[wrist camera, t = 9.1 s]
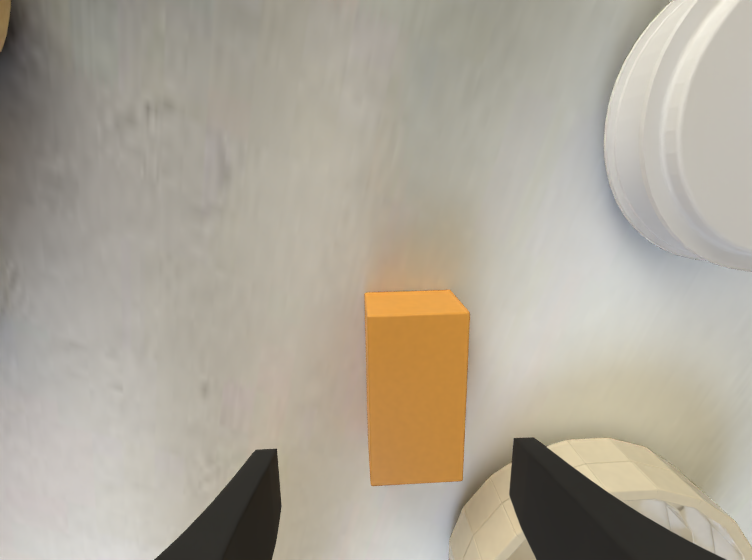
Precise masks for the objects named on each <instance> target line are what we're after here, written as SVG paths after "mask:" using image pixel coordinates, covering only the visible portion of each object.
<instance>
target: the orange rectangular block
mask: <svg viewBox="0 0 752 560" xmlns="http://www.w3.org/2000/svg"><path fill="white" fill-rule="evenodd" d="M364 296H365V337H366V378H367V420H368V448H369V465H370V481H371V486H382V485H400V484H418V483H436V482H454V481H462V480H463V462H464V439H465V416H466V393H467V370H468V348H469V325H470V312H469V311H468V310H467V309H466V308H465V307H464V305H463V304H462V303H461V302H460V301H459V300H458V298H457V297H456V296H455V295H454V294H453V293H452V292H451V290H433V291H401V292H369V293H365V294H364Z"/></svg>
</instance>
